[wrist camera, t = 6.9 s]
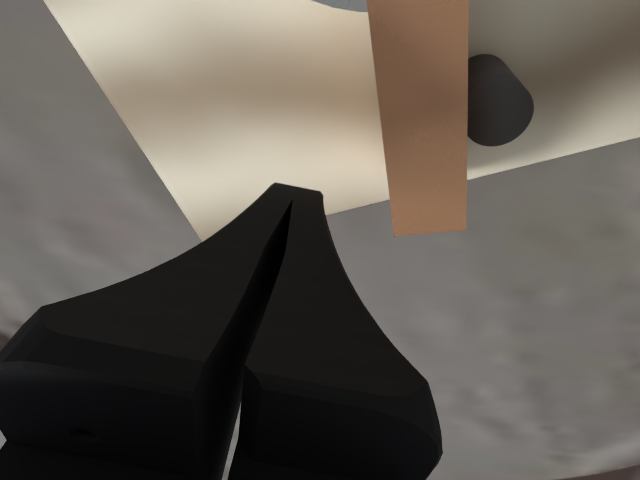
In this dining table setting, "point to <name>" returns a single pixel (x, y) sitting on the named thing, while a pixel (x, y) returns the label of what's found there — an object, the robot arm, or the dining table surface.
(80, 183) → the dining table surface
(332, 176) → the base board
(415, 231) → the grey and orange-brown pieces
